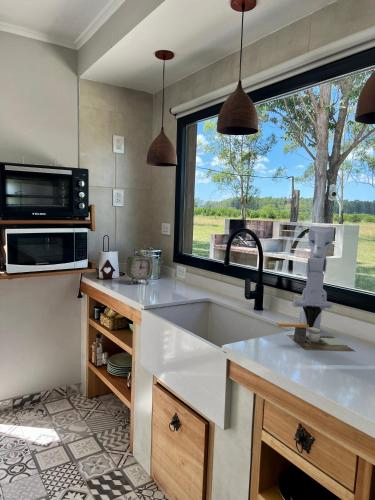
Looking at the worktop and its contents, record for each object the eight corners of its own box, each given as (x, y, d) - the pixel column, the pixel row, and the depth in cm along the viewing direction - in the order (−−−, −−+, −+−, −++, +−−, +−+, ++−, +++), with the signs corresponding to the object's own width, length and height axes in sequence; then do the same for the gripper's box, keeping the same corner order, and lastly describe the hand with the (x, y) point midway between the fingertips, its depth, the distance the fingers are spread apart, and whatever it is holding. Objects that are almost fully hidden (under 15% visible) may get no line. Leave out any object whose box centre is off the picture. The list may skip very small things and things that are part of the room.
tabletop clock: (129, 285, 220) (131, 243, 217) (124, 282, 227) (126, 242, 225) (151, 284, 227) (154, 244, 224) (145, 282, 235) (148, 243, 232)
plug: (305, 340, 137) (306, 327, 137) (315, 340, 138) (317, 327, 138) (310, 344, 133) (312, 330, 133) (321, 344, 134) (322, 331, 134)
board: (286, 337, 143) (288, 321, 142) (331, 338, 145) (333, 322, 145) (304, 352, 127) (306, 334, 126) (355, 354, 130) (357, 336, 129)
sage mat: (319, 338, 141) (319, 337, 141) (336, 339, 142) (336, 338, 142) (329, 345, 134) (329, 344, 134) (347, 345, 135) (347, 344, 135)
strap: (276, 325, 134) (277, 322, 134) (306, 326, 136) (306, 323, 136) (278, 326, 132) (279, 324, 132) (308, 327, 134) (309, 325, 134)
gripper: (300, 291, 129) (296, 329, 130) (338, 293, 131) (334, 330, 132) (291, 287, 136) (287, 323, 137) (328, 289, 138) (324, 324, 139)
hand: (309, 326), depth 135 cm, fingers closed
